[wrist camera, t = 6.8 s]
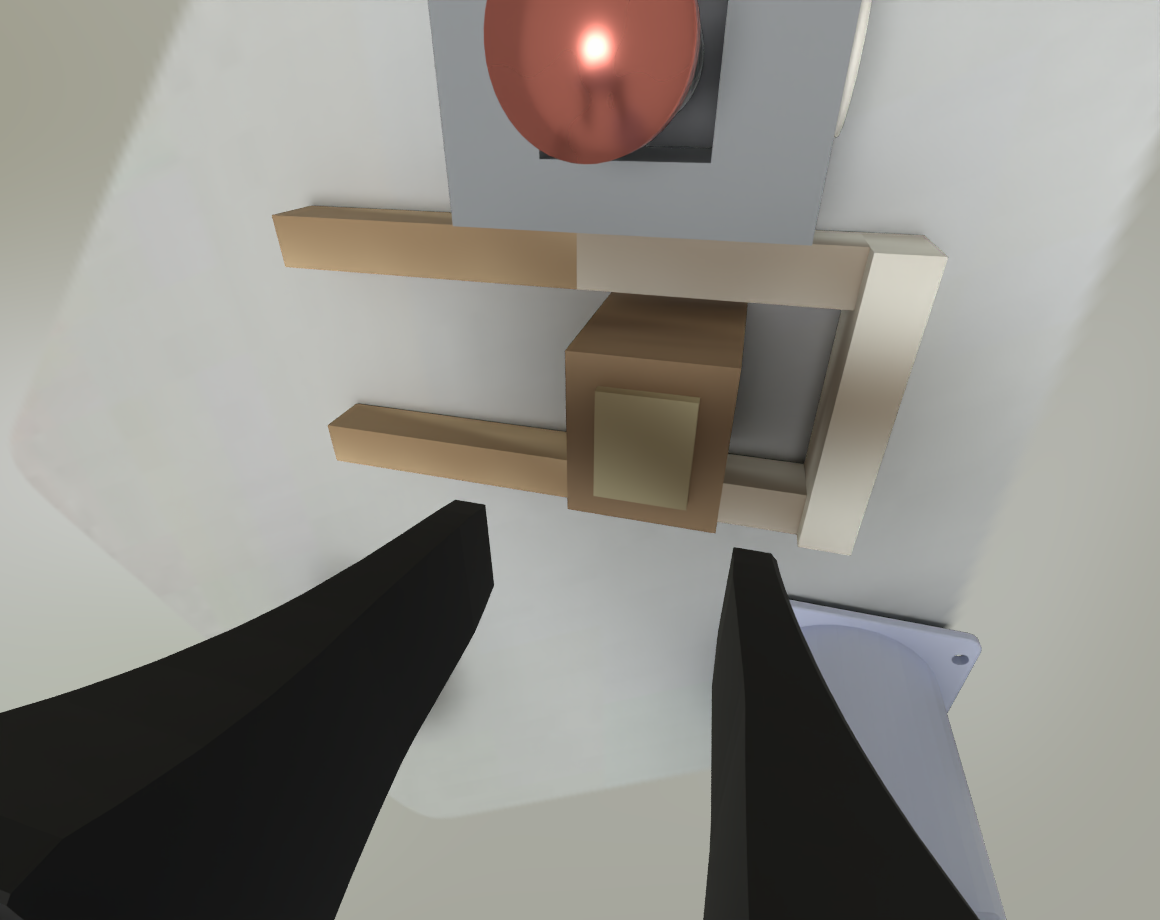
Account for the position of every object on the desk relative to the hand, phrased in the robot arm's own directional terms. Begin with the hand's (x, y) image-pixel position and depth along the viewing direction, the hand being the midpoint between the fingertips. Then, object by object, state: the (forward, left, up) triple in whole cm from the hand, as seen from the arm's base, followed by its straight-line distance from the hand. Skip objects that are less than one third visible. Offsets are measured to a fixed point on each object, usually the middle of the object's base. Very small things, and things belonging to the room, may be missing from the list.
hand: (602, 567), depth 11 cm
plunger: (+8, +1, -7) cm, 11 cm away
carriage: (0, 0, -10) cm, 10 cm away
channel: (0, +3, -9) cm, 10 cm away
